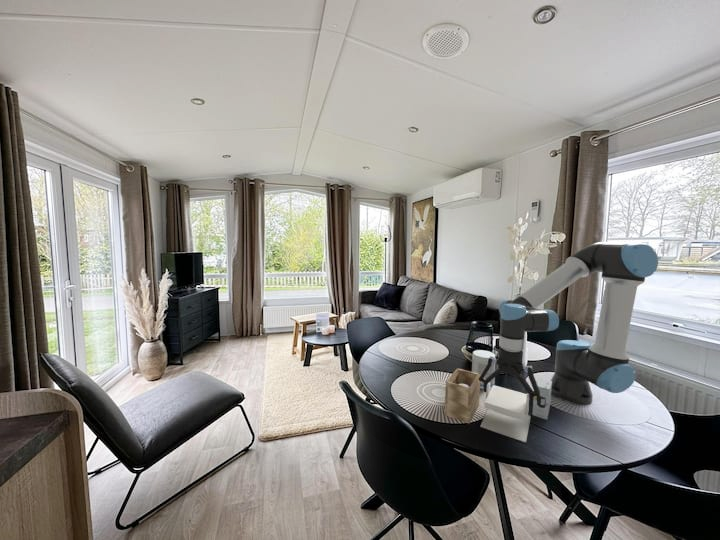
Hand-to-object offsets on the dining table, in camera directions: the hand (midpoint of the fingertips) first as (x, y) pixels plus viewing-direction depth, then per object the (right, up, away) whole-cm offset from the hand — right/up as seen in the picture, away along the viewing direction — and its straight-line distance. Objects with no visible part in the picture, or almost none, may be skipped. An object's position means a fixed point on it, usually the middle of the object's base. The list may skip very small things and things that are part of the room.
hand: (506, 406), depth 104 cm
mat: (0, -6, +1) cm, 6 cm away
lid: (0, +1, 0) cm, 1 cm away
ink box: (+16, -5, +6) cm, 18 cm away
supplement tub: (+3, -3, +27) cm, 27 cm away
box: (-13, -5, +8) cm, 16 cm away
